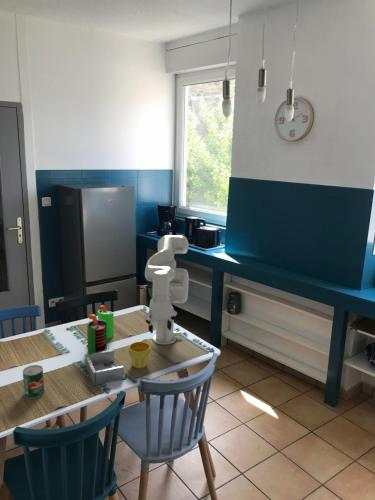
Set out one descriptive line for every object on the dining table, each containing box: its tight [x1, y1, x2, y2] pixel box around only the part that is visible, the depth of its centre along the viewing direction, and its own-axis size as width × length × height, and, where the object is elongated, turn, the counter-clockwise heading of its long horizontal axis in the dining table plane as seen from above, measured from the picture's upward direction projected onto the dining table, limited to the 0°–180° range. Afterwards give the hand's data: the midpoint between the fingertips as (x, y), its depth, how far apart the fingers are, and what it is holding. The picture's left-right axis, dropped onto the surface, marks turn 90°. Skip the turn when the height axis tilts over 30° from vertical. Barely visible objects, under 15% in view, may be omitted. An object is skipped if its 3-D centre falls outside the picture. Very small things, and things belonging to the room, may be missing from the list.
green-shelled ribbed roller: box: [97, 304, 115, 339], centre depth 221 cm, size 9×8×18 cm
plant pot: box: [128, 341, 152, 369], centre depth 193 cm, size 10×10×10 cm
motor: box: [86, 313, 108, 354], centre depth 203 cm, size 10×9×20 cm
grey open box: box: [84, 349, 125, 386], centre depth 186 cm, size 14×17×6 cm
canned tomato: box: [22, 364, 45, 400], centre depth 168 cm, size 8×8×11 cm
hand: (160, 330), depth 195 cm, fingers open, 8 cm apart
